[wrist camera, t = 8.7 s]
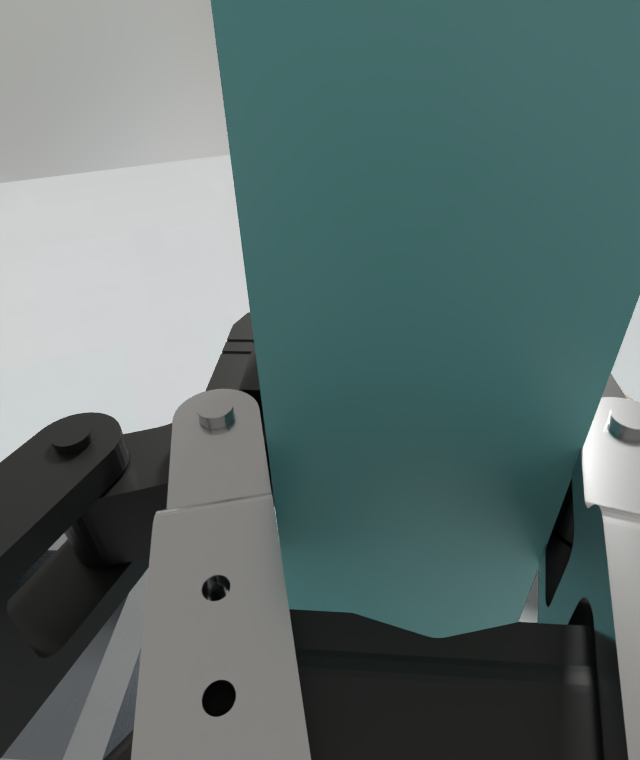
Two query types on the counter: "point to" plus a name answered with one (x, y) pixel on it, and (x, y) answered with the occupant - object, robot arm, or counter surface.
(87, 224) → the counter surface
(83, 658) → the panel
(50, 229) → the counter surface
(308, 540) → the plug
